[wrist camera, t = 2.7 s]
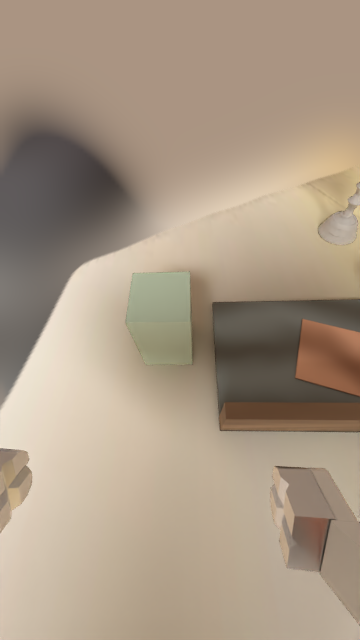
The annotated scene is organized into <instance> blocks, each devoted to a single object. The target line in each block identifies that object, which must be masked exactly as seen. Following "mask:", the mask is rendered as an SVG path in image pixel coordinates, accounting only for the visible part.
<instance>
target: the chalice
mask: <svg viewBox="0 0 360 640" xmlns="http://www.w3.org/2000/svg"><path fill="white" fill-rule="evenodd" d="M348 202H349V204H348V207H347V209H346V210H345V211H340V212H337V213H334V214H332V215H331V216H330V217H329V218H327V219H326V220H325V221H324V222H323V223H321V224H320V226H319V228H318V232H319V235H320V236H321V237H322V238H323V239H324V240H326V241H328V242H330V243H333V244H337V245H345V244H350V243H352V242H353V241H354V240H355V239H356V236H357V233H356V232H357V226H358V221H357V218H356V217H355V215H353V211H354V209H355V208H356V207H357V206H358V205H360V182H359V183H357V191H356V193H355V194H354V195H353V196H351V197H349V198H348Z"/></svg>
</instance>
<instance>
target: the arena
mask: <svg viewBox="0 0 360 640" xmlns="http://www.w3.org/2000/svg"><path fill="white" fill-rule="evenodd" d="M213 321H214V338H215V355H216V372H217V389H218V407H219V424H220V431H301V432H360V299H358V300H310V301H261V302H213Z"/></svg>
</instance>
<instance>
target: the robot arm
mask: <svg viewBox="0 0 360 640" xmlns="http://www.w3.org/2000/svg"><path fill="white" fill-rule="evenodd" d="M28 461H29V456H28V452H26V451H24V450H14V449H3V448H0V533H1V532H2V530H3V529H4V528H5V526H6V525H7V523H8V522H9V521H10V519H11V514H12V510H13V509H15V508H16V507H18V506H19V505H21V504H22V502H23V501H24V499H25V498H26V497H27V495H28V493H29V490H30V487H31V485H32V472H31V470H30V469H29V468H28V467H27V466H26V464H27V463H28ZM272 477H273V480H274V485H273V486H272V487H271V492H270V503H271V511H272V516H273V520H274V524H275V525H276V526H277V527H278V529H279V530H280V538H279V542H280V546H281V549H282V553H283V556H284V560H285V563H286V567H287V568H289V569H297V570H305V571H313V572H320V575H321V576H322V578H323V579H324V580H325V582H326V583H327V584H328V585H329V587H330V588H331V589H332V591H333V592H334V593H335V594H336V596H337V597H338V598H339V600H340V601H341V602H342V603H343V605H344V606H345V607H346V609H347V610H348V611H349V612H350V614H351V615H352V616H353V618H354V619H355V620H356V621H357V623H358V624H359V625H360V522H358V521H357V519H356V517H355V516H354V514H353V512H352V511H351V509H350V507H349V506H348V504H347V502H346V501H345V499H344V497H343V495H342V494H341V492H340V490H339V489H338V487H337V485H336V484H335V482H334V480H333V479H332V477H331V475H330V474H329V472H328V471H327V470H326V469H323V468H301V467H282V466H274V468H273V474H272Z"/></svg>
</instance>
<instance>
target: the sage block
mask: <svg viewBox="0 0 360 640" xmlns="http://www.w3.org/2000/svg"><path fill="white" fill-rule="evenodd" d="M125 323H126V325H127V327H128V329H129V331H130V333H131V335H132V337H133V339H134V341H135V343H136V345H137V347H138V349H139V352H140V354H141V356H142V358H143V360H144V362H145V364H146V365H177V364H192V310H191V285H190V272H159V273H133V275H132V281H131V288H130V295H129V302H128V308H127V315H126V322H125Z"/></svg>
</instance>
